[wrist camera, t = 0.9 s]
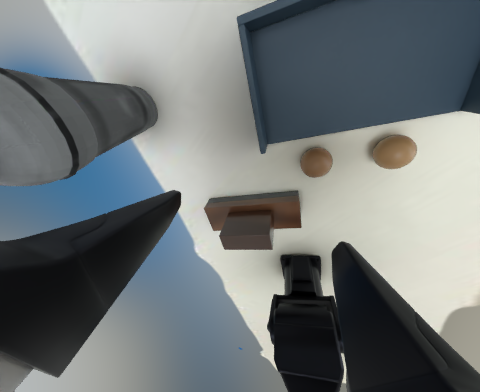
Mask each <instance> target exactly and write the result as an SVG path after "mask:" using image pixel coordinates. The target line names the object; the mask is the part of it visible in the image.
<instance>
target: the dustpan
mask: <svg viewBox="0 0 480 392" xmlns="http://www.w3.org/2000/svg"><path fill="white" fill-rule="evenodd" d="M332 1H333V2H332ZM330 2H331V3H330ZM327 3H328V4H327ZM324 4H325V5H324ZM322 5H323V6H322ZM319 6H320V7H319ZM316 7H317V8H316ZM314 8H315V9H314ZM311 9H312V10H311ZM308 10H309V11H308ZM306 11H307V12H306ZM303 12H304V13H303ZM300 13H301V14H300ZM298 14H299V15H298ZM295 15H296V16H295ZM292 16H293V17H292ZM290 17H291V18H290ZM287 18H288V19H287ZM284 19H285V20H284ZM282 20H283V21H282ZM279 21H280V22H279ZM276 22H277V23H276ZM237 23H238V28H239V34H240V40H241V45H242V51H243V56H244V62H245V68H246V73H247V79H248V84H249V90H250V96H251V101H252V107H253V113H254V118H255V124H256V129H257V135H258V141H259V146H260V152H261V154H264V153H266V149H267V144H273V143H279V142H284V141H290V140H296V139H301V138H307V137H313V136H319V135H324V134H330V133H336V132H341V131H347V130H353V129H358V128H364V127H370V126H376V125H381V124H387V123H393V122H398V121H404V120H410V119H416V118H421V117H427V116H433V115H438V114H444V113H450V112H455V111H466V112H472V113H477V114H480V0H336V1H335V0H277V1H274V2H272V3H270V4H267V5H265V6H262V7H260V8H257V9H255V10H253V11H250V12H248V13H245V14H243V15H240V16H238V17H237ZM274 23H275V24H274ZM271 24H272V25H271ZM268 25H269V26H268ZM266 26H267V27H266ZM263 27H264V28H263ZM260 28H261V29H260ZM258 29H259V30H258ZM255 30H256V31H255ZM252 31H253V32H252ZM250 32H251V33H250Z"/></svg>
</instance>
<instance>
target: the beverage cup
mask: <svg viewBox="0 0 480 392" xmlns="http://www.w3.org/2000/svg"><path fill="white" fill-rule="evenodd" d="M156 121H157V108H156V105H155V103H154V101H153V99H152V98H151V96H150V95H149V94H148V93H147V92H146V91H144V90H143V89H141V88H138V87H131V86H127V85H121V84H111V83H100V82H90V81H79V80H68V79H58V78H48V77H41V76H37V75H33V74H29V73H24V72H19V71H14V70H9V69H3V68H0V185H2V186H32V185H42V184H46V183H51V182H54V181H57V180H62V179H67V178H69V177H71V176H73V175H75V174H76V172H77V171H78V170H80V169H81V168H83V167H85V166H86V165H87V164H89V163H90V162H92V161H93V160H94V158H95V157H97V156H99V155H101V154H102V153H105V152H106V151H108V150H110V149H112V148H114V147H115V146H117V145H119V144H121V143H123V142H125V141H127V140H129V139H131V138H132V137H134V136H136V135H138V134H140V133H142V132H143V131H145V130H147V129H148V128H150V127H151V126H153V125H154V124H155V123H156Z"/></svg>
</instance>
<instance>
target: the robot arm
mask: <svg viewBox="0 0 480 392" xmlns="http://www.w3.org/2000/svg"><path fill="white" fill-rule="evenodd" d="M180 205H181V193H180V192H179V191H175V190H172V191H169V192H166V193H163V194H160V195H157V196H155V197H152V198H149V199H146V200H143V201H140V202H137V203H135V204H132V205H129V206H126V207H123V208H120V209H117V210H114V211H111V212H109V213H107V214H103V215H100V216H97V217H94V218H91V219H88V220H85V221H81V222H78V223H75V224H71V225H69V226H65V227H61V228H57V229H54V230H51V231H47V232H43V233H40V234H36V235H33V236H29V237H25V238H21V239H16V240H10V241H0V392H14V391H15V389H16V388H17V387H18V386H19V385H20V384H21V382H22V381H23V380H24V379H25V378H26V377H27V375H28V374H29V373H30V372H31V371H32V370H33V369H36V370H38V371H41V372H44V373H46V374H49V375H52V376H55V377H57V378H58V377H59V376H60V375H61V374H62V373H63V371H64V370H65V368H66V367H67V366H68V365H69V363H70V362H71V360H72V359H73V358H74V356H75V355H76V354H77V352H78V351H79V350H80V348H81V347H82V345H83V344H84V343H85V341H86V340H87V339H88V337H89V336H90V335H91V333H92V332H93V330H94V329H95V328H96V326H97V325H98V324H99V322H100V321H101V319H102V318H103V317H104V315H105V314H106V312H107V311H108V309H109V308H110V307H111V306H112V304H113V303H114V301H115V300H116V299H117V297H118V296H119V295H120V293H121V292H122V291H123V289H124V288H125V287H126V285H127V284H128V282H129V281H130V280H131V278H132V277H133V276H134V274H135V273H136V271H137V270H138V269H139V267H140V266H141V265H142V263H143V262H144V261H145V259H146V258H147V256H148V255H149V254H150V252H151V251H152V250H153V248H154V247H155V246H156V244H157V243H158V241H159V240H160V239H161V237H162V236H163V234H164V233H165V232H166V230H167V229H168V227H169V226H170V224H171V222H172V220H173V218H174V217H175V215H176V213H177V211H178V210H179V208H180ZM281 265H282V270H283V276H284V279H285V295H277V294H274V296H273V299H272V304H271V311H270V317H269V322H268V325H267V329H268V331H269V332H270V336H271V341H272V344H273V345H274V361H275V364H276V367H277V369H278V371H279V372H280V374H281V376H282V378H283V381H284V383H285V386H286V388H287V390H288V392H339V391H340V387H341V383H342V380H343V376H344V366H343V361H342V357H341V353H344V356H345V362H346V369H347V375H348V381H349V388H350V392H480V374H479V373H478V372H477V371H476V370H475V369H474V368H473V367H472V366H471V365H470V364H469V363H468V362H467V361H465V360H464V359H463V358H462V357H461V356H460V355H459V354H458V353H457V352H456V351H455V350H454V349H453V348H452V347H451V346H450V345H449V344H448V343H447V342H446V341H445V340H444V339H442V338H441V337H440V336H439V335H438V334H437V333H436V332H435V331H434V330H433V329H432V328H431V327H430V326H429V325H428V324H427V323H426V322H425V321H424V319H423V318H422V317H421V316H420V315H419V314H418V313H417V312H415V311H414V309H413V308H412V307H411V306H410V305H409V304H408V303H407V302H406V301H405V300H404V299H403V298H402V297H401V296H400V295H399V294H398V293H397V292H396V291H395V290H394V289H393V288H392V287H391V286H390V285H389V284H388V282H387V281H386V280H385V279H384V278H383V277H382V276H381V275H380V274H379V273H378V272H377V271H376V270H375V269H374V268H373V267H372V266H371V265H370V264H369V263H368V262H367V261H366V260H365V259H364V258H363V257H362V256H361V255H360V254H359V253H358V252H357V251H356V250H355V249H354V248H353V247H352V245H351V244H349V243H346V242H340V243H339V244H338V245H337V246H336V247H335V248H334V250H333V251H332V275H333V286H334V292H335V299H336V303H335V299H334V296H323V292H322V287H321V282H320V280H321V258H320V257H319V256H285V255H283V256H281ZM336 305H337V307H336Z"/></svg>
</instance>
